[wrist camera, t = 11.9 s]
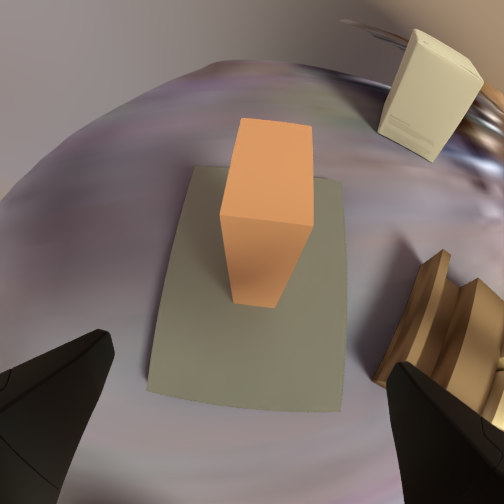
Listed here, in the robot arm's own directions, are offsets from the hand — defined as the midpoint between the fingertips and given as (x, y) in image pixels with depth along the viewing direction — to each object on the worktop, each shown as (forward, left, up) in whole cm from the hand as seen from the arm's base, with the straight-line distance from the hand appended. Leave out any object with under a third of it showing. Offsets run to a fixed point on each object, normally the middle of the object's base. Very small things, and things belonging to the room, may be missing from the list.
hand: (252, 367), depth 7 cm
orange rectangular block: (+7, +2, -11) cm, 13 cm away
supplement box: (+34, -11, -13) cm, 38 cm away
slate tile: (+7, +2, -13) cm, 15 cm away
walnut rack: (+6, -18, -13) cm, 23 cm away
